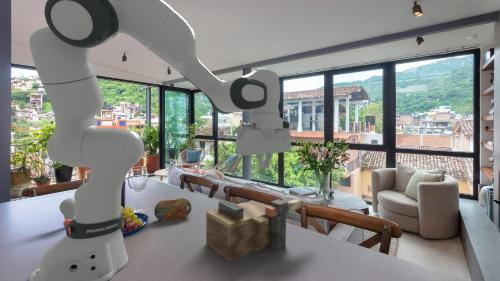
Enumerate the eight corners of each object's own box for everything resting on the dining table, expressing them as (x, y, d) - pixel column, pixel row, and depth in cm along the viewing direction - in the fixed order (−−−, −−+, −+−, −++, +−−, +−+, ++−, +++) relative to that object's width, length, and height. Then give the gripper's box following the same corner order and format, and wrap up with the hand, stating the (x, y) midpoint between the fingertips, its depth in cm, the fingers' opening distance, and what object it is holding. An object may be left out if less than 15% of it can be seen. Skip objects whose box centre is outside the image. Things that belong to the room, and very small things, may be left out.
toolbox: (238, 268, 70) (239, 215, 69) (206, 243, 85) (206, 199, 84) (287, 247, 83) (288, 202, 82) (252, 228, 97) (252, 190, 96)
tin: (154, 222, 103) (154, 202, 102) (154, 219, 106) (153, 200, 105) (191, 217, 109) (191, 198, 108) (190, 214, 112) (190, 196, 111)
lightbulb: (81, 226, 98) (80, 198, 97) (62, 231, 94) (61, 202, 93) (77, 222, 102) (76, 195, 101) (58, 226, 98) (57, 198, 97)
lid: (237, 237, 70) (237, 218, 70) (206, 218, 84) (206, 202, 84) (287, 220, 83) (287, 204, 82) (252, 206, 97) (252, 192, 96)
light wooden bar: (271, 216, 79) (271, 209, 78) (265, 214, 81) (265, 206, 81) (303, 207, 88) (303, 200, 88) (296, 205, 91) (297, 198, 90)
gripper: (244, 122, 68) (244, 173, 69) (294, 123, 81) (293, 166, 82) (231, 122, 73) (230, 170, 74) (280, 123, 86) (279, 163, 87)
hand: (264, 168), depth 78 cm, fingers closed
